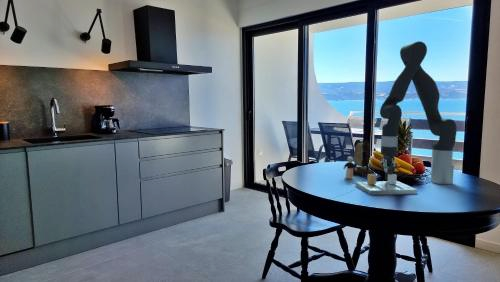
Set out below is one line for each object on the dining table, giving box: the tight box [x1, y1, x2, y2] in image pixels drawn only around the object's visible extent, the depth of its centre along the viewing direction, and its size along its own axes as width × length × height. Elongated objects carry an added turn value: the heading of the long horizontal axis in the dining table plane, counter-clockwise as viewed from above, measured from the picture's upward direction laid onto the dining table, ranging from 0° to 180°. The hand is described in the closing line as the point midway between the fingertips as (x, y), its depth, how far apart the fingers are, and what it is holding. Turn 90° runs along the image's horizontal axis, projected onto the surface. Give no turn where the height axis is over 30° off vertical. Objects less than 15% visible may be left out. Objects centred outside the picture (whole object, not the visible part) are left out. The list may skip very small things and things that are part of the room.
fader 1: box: [366, 173, 377, 184], centre depth 161 cm, size 3×3×5 cm
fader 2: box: [387, 173, 398, 184], centre depth 161 cm, size 3×3×5 cm
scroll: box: [353, 139, 375, 177], centre depth 194 cm, size 15×15×20 cm
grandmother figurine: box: [343, 156, 358, 181], centre depth 181 cm, size 8×4×13 cm, turn 62°
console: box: [355, 180, 418, 196], centre depth 158 cm, size 22×17×2 cm
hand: (387, 179), depth 166 cm, fingers closed
